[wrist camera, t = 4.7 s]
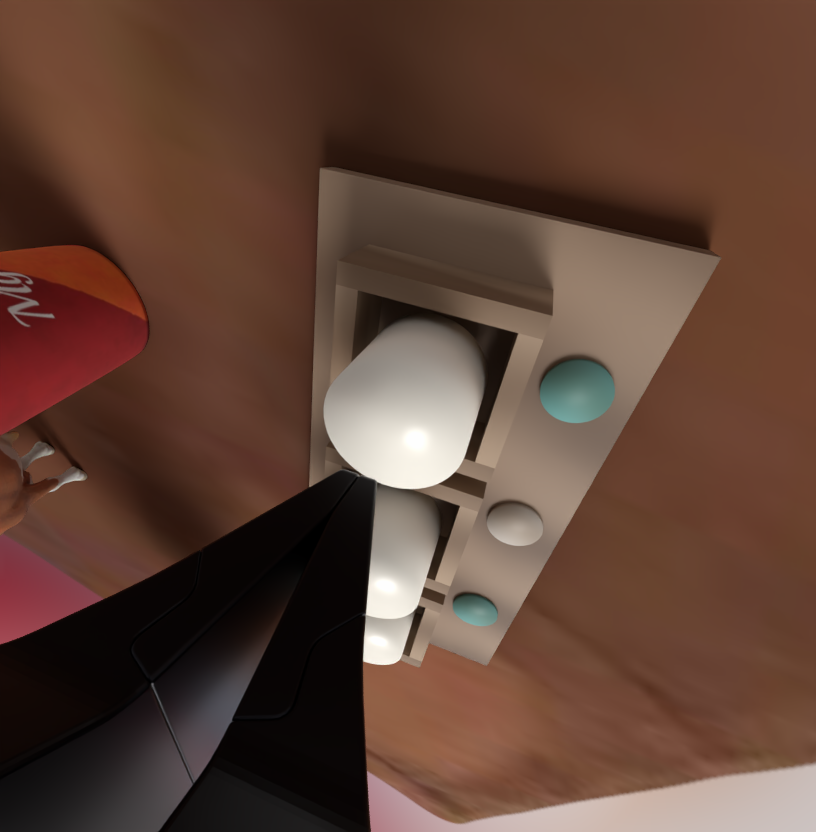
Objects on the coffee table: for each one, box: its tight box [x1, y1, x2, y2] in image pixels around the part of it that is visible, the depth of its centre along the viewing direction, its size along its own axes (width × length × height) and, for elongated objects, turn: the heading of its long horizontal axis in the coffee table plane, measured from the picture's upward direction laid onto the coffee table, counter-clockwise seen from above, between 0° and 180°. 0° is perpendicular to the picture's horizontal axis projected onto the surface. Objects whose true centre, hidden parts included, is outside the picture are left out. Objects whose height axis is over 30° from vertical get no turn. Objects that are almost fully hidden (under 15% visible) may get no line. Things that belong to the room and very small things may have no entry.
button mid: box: [366, 482, 443, 619], centre depth 16 cm, size 4×4×4 cm
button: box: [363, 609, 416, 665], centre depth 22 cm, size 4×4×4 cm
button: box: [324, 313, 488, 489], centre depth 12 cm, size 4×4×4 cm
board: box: [309, 167, 721, 668], centre depth 19 cm, size 24×12×4 cm, turn 171°
